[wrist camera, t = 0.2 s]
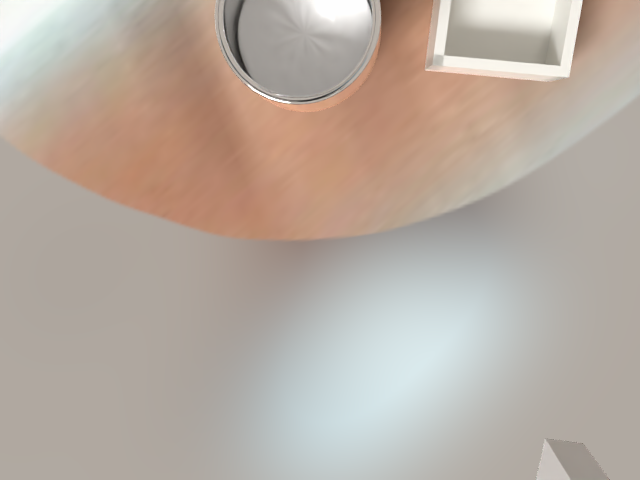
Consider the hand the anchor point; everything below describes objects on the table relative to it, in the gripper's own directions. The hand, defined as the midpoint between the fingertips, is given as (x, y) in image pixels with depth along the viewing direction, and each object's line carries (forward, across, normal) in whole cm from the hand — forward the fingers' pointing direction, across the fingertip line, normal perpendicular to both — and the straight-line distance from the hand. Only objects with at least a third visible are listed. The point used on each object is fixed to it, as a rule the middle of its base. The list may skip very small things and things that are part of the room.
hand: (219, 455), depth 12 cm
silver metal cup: (+28, -1, +11) cm, 30 cm away
